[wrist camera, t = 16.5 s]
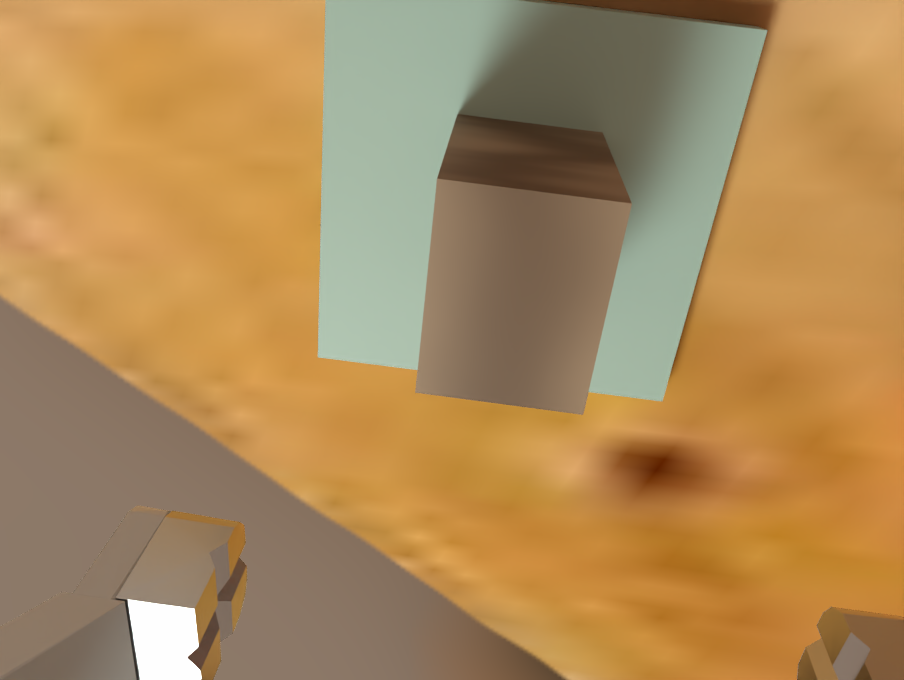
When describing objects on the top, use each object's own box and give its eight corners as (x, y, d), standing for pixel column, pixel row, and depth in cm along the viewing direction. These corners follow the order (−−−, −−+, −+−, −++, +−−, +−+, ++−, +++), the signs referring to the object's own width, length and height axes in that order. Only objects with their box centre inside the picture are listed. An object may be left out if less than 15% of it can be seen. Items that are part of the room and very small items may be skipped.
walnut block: (602, 132, 24) (632, 203, 18) (568, 303, 27) (583, 414, 21) (457, 113, 24) (437, 178, 18) (438, 286, 27) (415, 392, 21)
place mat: (758, 26, 23) (767, 30, 22) (658, 387, 29) (662, 401, 28) (333, -25, 23) (326, -23, 22) (323, 344, 30) (317, 357, 29)
